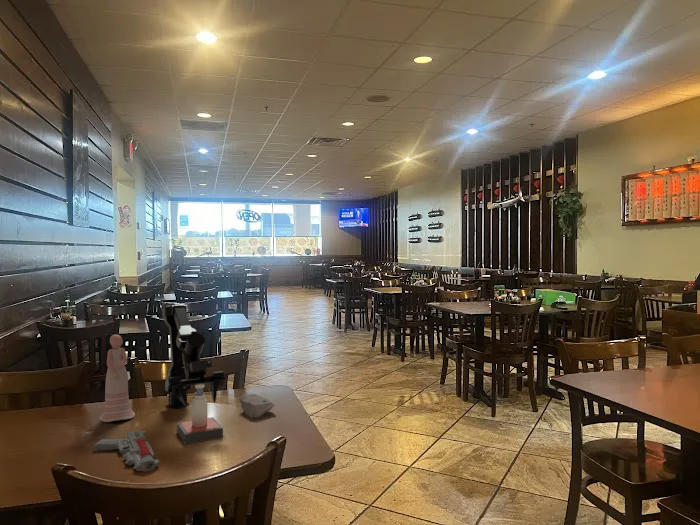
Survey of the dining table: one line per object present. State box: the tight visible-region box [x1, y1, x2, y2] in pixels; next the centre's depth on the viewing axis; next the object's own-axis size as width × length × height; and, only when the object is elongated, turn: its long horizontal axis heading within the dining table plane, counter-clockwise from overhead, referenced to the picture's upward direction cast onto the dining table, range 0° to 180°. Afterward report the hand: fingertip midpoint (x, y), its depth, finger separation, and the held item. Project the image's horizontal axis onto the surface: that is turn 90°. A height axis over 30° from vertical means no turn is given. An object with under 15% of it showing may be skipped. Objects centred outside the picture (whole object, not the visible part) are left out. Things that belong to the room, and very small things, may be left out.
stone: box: [238, 393, 276, 419], centre depth 193 cm, size 13×10×6 cm
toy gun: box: [93, 429, 160, 472], centre depth 152 cm, size 4×27×15 cm
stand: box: [176, 417, 224, 445], centre depth 170 cm, size 12×12×3 cm
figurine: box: [99, 334, 136, 423], centre depth 186 cm, size 13×13×30 cm
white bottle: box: [191, 383, 208, 428], centre depth 170 cm, size 5×5×14 cm
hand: (200, 404), depth 169 cm, fingers open, 9 cm apart
